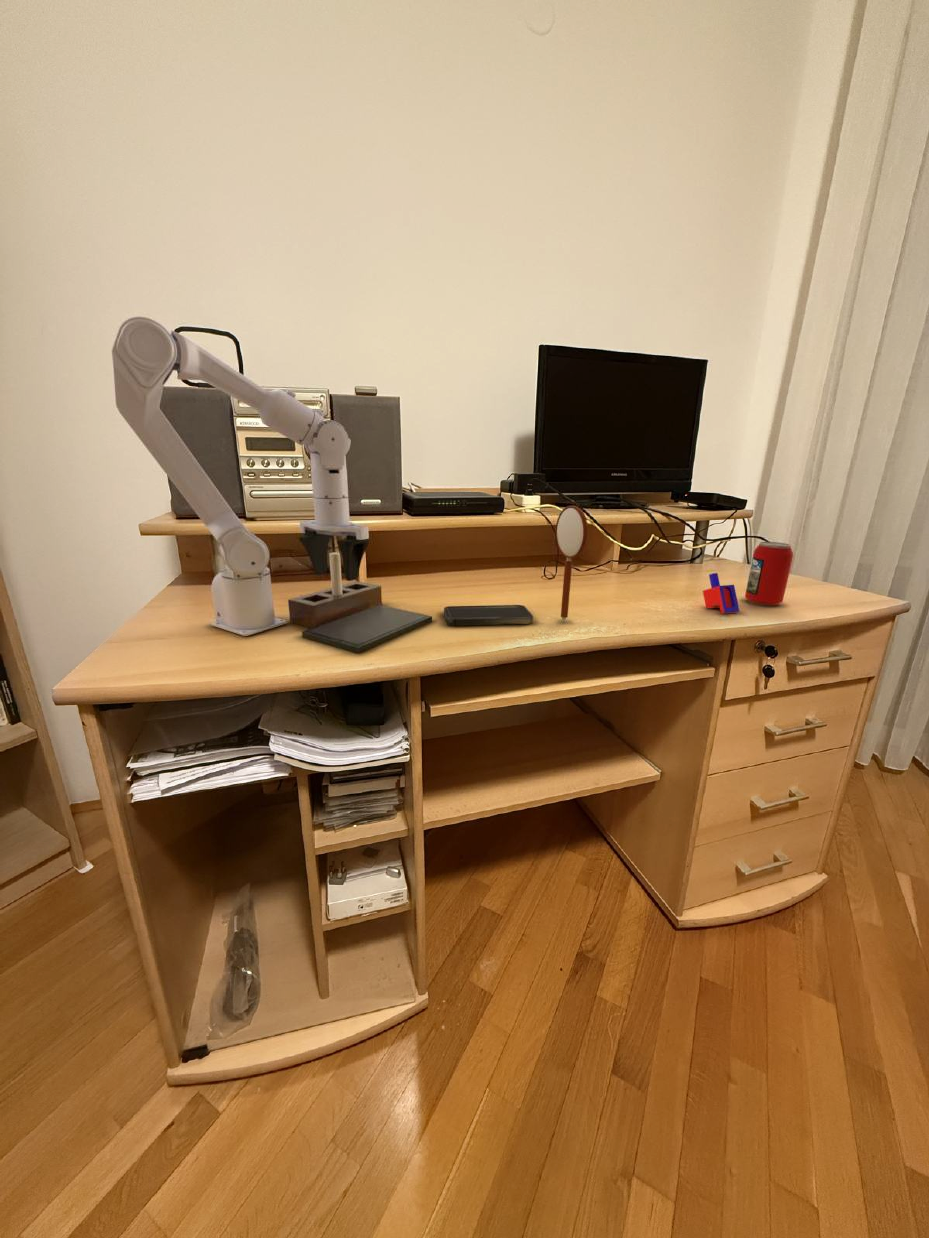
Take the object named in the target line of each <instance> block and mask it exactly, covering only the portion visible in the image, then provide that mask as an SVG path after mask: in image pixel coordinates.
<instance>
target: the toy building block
mask: <svg viewBox="0 0 929 1238" xmlns="http://www.w3.org/2000/svg"><path fill="white" fill-rule="evenodd" d="M708 577H709V583H710V587H711V588H708V589H703V590H702V594H703V599H704V600H703V601H704V605H705V608H706V609H711V608H712V609H713V608H719V610H720V614H721V615H723V614H732V613H733V614H734V613H739V612H740V607H739V602H738V599H737V598H738V597H737V592H736V587H735V584H725V585H724V584H723V585H721V583H720V579H719V578H720V577H719V574H718V573H717V572H714V573H709V574H708Z"/></svg>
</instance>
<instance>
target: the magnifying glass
mask: <svg viewBox="0 0 929 1238" xmlns="http://www.w3.org/2000/svg"><path fill="white" fill-rule="evenodd" d="M588 538H589V525H588V521H587V517H586V515H585V513H584V512H583V510H582V509H581V508H580V507H579V506H578V505H567V506H565V507H564V508H563V509H562V510H561V511H560V513H559V515H558V517H557V519H556V525H555V540H556V545H557V548H558V550H559V552H560V553H561V555H562V556H564V557H565V558H566V559H565V560H564V568H563V570H564V571H563V581H562V582H563V583H562V595H561V606H560V608H561V609H560V618H561V623H565V622H566V621H567V618H568V617H569V605H570V594H571V581H572V571H573V560H574V559H576V558H578V557H580V556H581V554H583V552H584V550H585V549H586V547H587V544H588ZM572 559H573V560H572Z"/></svg>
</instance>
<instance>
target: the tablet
mask: <svg viewBox="0 0 929 1238" xmlns="http://www.w3.org/2000/svg"><path fill="white" fill-rule="evenodd" d="M432 622H433V616H432V615H429V614H424V613H418V612H415V611H409V610H405V609H401V608H396V607H393V606H387V605H383V604H382V605H378V606H375V607H372V608H369V609H366V610H363V611H360V612H357V613H354V614H352V615H349V616H346V617H343V618H340V619H337V620H334V621H331V622H328V623H325V624H322V625H320V626H317V627H314V628H311V627H310V628H308V629H305V630H302V631H301V638H303V639H306V640H310V641H313V642H317V643H320V644H324V645H326V646H327V645H328V646H330V647H334V648H337V649H340V650H343V651H347V652H351V653H354V654H358V655H360V654H362V653H364V652H366V651H369V650H371V649H374V648H376V647H378V646H380V645H383V644H385V643H386V642H387V643H388V642H389V641H391V640H394V639H397V638H398V637H401V636H403V635H405V634H407V633H410V632H412V631H414V630H417V629H418V628H421V627H423V626H426V625H428V624H430V623H432Z"/></svg>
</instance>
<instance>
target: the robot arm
mask: <svg viewBox="0 0 929 1238" xmlns="http://www.w3.org/2000/svg"><path fill="white" fill-rule="evenodd" d="M111 357H112V367H113V368H112V369H113V383H114V397H115V399H114V400H115V406H116V408H117V410H118V412H119V414H120V415H121V416H122V418H123V419H124V421H125V422H126V423H127V424H128V426H129V427H130V428H131V429H132V431H133V432H134V434H135V435H136V436H137V437H138V439H139V440H140V442H141V443H142V444H143V445H144V447H145V448H146V449H147V451H148V452H149V453H150V455H151V456H152V458H153V459H154V460H155V461H156V462H157V464H158V465H159V467H160V468H161V469H162V471H163V472H164V473H165V474H166V476H167V477H168V479H169V480H170V481H171V482H172V484H173V485H174V486H175V488H176V489H177V490H178V491H179V494H181V496H182V497H183V498H184V499H185V501H186V502H187V503H188V505H189V506H190V507H191V508H192V510H193V511H194V512H195V514H196V515H197V517H198V518H199V519H200V521H201V522H202V523H203V524H204V526H205V527H206V528H207V530H209V532H210V534H211V535H212V536H213V537H214V539H215V541H216V543H217V550H218V553H219V555H220V557H221V558H222V559H223V560H224V562H225V564H224V566H223V567H222V569H221V570H220V571H219V573H217V574H216V575H215V576H214V577H213V580H212V582H211V587H210V589H211V590H210V591H211V598H212V603H213V612H214V617H215V621H212V622H211V623H210V625H211V627H215V628H218V629H221V630H225V631H227V632H230V633H234V634H237V635H240V636H244V637H248V636H251V635H255V634H258V633H262V632H264V631H267V630H271V629H273V628H277V627H281V626H283V625H286V624H287V623H288V621H287V620H286V619H283V618H280V617H279V618H278V617H276V615H275V614H276V613H275V606H274V597H273V587H272V578H271V570H270V568H269V567H268V564H269V562H270V551H269V548H268V546H267V544H266V543H265V542H264V541H263V540H262V539H261V538H259V537H258V536H256V534H254V532H252V531H250V530H249V529H247V527H246V526H245V524H244V523H243V522H242V521H241V519H239V517H238V515H236V513H235V511H233V510H232V508H231V506H230V505H229V503H228V502H227V501H226V499H225V498H224V497H223V495H222V494H221V493H220V491H219V489H217V487H216V485H215V484H214V483H213V481H212V480H211V479H210V477H209V476H208V474H207V473H206V471H205V470H204V469H203V467H202V466H201V464H200V463H199V462H198V460H197V459H196V457H195V456H194V455H193V453H192V452H191V450H190V449H189V447H188V446H187V445H186V444H185V442H184V441H183V439H182V438H181V437H180V435H179V434H178V432H177V431H176V429H175V428H174V426H173V425H172V424H171V423H170V421H169V420H168V419H167V417H166V416H165V414H164V413H163V411H162V410H161V408H160V405H161V401H162V396H163V391H164V386H165V384H166V383H167V382H168V380H169V379H170V377H171V375H172V373H173V372H174V371H177V380H180V381H181V380H183V381H185V380H186V381H202V382H203V383H206V384H208V385H209V386H212V387H213V388H215V389H217V390H219V391H221V392H223V393H224V394H226V395H228V396H229V397H231V398H233V399H236V400H237V401H239V402H241V403H243V404H245V405H246V406H249V408H252V409H254V410H256V411H257V413H258V415H259V418H260V420H261V422H262V424H263V425H265V426H267V427H268V428H270V429H272V430H273V431H274V432H277V433H278V434H281V435H282V436H284V437H285V438H287V439H289V440H291V441H293V442H294V443H296V444H298V445H300V446H304V447H305V450H306V451H307V452H308V453H309V454H310V455H309V456H310V476H311V489H312V501H313V512H314V514H313V515H314V520H309V519H308V520H300V521H299V531H300V533H303V534H302V535H299V536H298V540H299V542H300V544H301V545H302V546H303V548H304V549H305V551H306V553H307V555H308V557H309V560H310V562H311V565H312V568H313V570H314V574H315V575H316V576H320V575H324V574H327V573H328V550H329V545H330V539H331V536H335V537H342V538H343V539H338V540H336V544H337V546H338V548H339V551H340V555H341V557H342V561H343V568H344V569H343V570H344V577H345V581H348V582H353V581H354V580H355V581H356V580H358V578H359V573H360V568H361V563H362V560H363V557H364V554H365V552H366V550H367V548H368V546H369V544H370V535H369V527H368V526H364V525H359V524H355V523H354V522H353V521H350V504H349V485H348V484H349V483H348V470H347V457H346V455H347V453H348V452H349V451H350V448H351V444H352V443H351V442H352V441H351V440H352V439H351V438H350V437H349V435H348V434H349V433H348V431H346V428H345V427H344V425H342V424H341V423H340V422H338V421H336V420H333V419H325V418H324V416H325V413H324V412H323V411H321V410H319V409H318V410H314V409H313V408H311V407H309V406H308V405H306V404H305V403H303V402H301V401H300V400H298V399H297V398H296V397H297V394H296V393H295V392H294V391H292V390H290V389H288V390H286V391H284V390H282V389H281V388H275V389H272V390H266V389H265V388H263V387H262V386H260V385H258V384H257V383H255V381H252V380H251V379H249V378H248V377H247V376H245V375H244V374H243V373H241V372H239V371H237V370H236V369H235V368H233V367H231V366H230V365H229V364H228V363H225V362H224V361H223V360H222V359H220V358H218V357H217V356H215V355H213V354H212V353H211V352H209V351H208V350H207V349H205V348H203V347H202V346H201V345H199V344H198V343H196V342H193V341H192V340H191V339H189V338H188V337H186V336H184V335H183V334H181V333H178V332H177V331H175V330H171V331H169V330H168V329H167V328H166V327H165V326H164V325H163V324H161V323H160V322H158V321H156V320H155V319H152V318H150V317H147V316H133V317H129V318H127V319H126V320H124V321H123V322H122V323H121V324H120V326H119V327H118V329H117V332H116V335H115V338H114V341H113V344H112V347H111ZM324 419H325V420H324Z"/></svg>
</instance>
